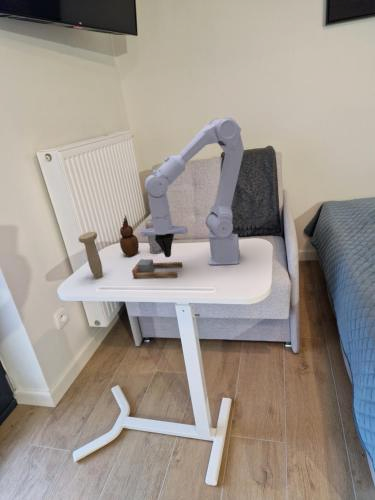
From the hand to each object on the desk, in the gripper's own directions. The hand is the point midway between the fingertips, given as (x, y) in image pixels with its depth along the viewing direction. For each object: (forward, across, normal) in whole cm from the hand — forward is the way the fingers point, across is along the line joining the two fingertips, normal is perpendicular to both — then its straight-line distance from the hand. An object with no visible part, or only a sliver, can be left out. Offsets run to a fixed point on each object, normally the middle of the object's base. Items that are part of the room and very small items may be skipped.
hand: (168, 255), depth 104 cm
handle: (+6, +25, +2) cm, 26 cm away
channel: (+6, +4, 0) cm, 7 cm away
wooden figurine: (+6, +20, -16) cm, 26 cm away
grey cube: (+6, +8, 0) cm, 10 cm away
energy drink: (+6, +10, -18) cm, 21 cm away
